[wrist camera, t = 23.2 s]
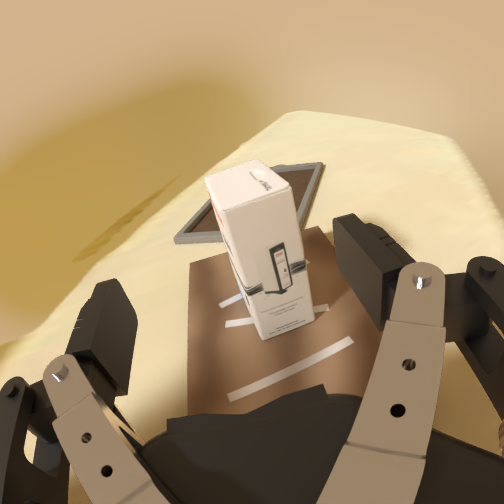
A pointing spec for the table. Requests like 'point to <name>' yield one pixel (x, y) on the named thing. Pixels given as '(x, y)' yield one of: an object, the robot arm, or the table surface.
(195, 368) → the walnut board
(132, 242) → the table surface
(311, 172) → the grey framed brown panel
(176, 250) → the table surface
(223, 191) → the ink box
